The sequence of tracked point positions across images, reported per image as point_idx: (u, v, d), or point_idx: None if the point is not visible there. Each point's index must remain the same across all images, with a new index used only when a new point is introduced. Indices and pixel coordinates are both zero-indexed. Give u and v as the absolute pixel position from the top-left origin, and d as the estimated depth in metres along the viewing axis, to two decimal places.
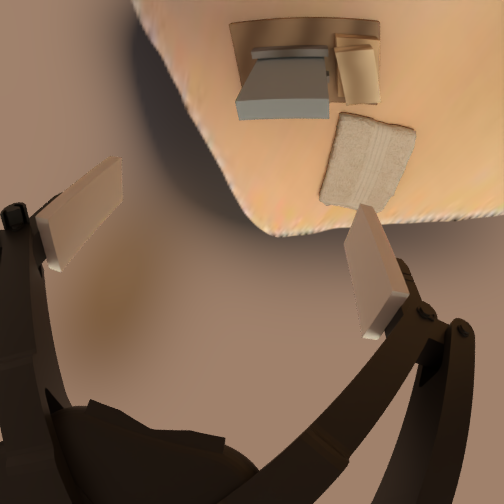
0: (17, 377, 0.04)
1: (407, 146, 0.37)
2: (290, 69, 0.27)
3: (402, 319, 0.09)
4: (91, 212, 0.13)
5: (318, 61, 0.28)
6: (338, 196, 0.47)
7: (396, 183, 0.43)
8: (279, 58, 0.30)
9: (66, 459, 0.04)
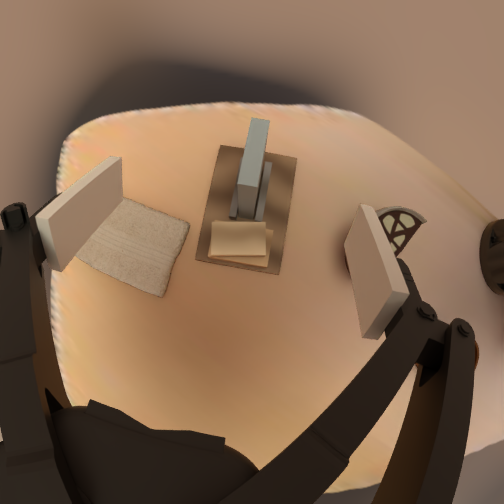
0: (17, 377, 0.04)
1: (148, 285, 0.40)
2: (259, 180, 0.38)
3: (402, 319, 0.09)
4: (91, 212, 0.13)
5: None
6: None
7: (105, 271, 0.40)
8: (259, 181, 0.43)
9: (66, 459, 0.04)
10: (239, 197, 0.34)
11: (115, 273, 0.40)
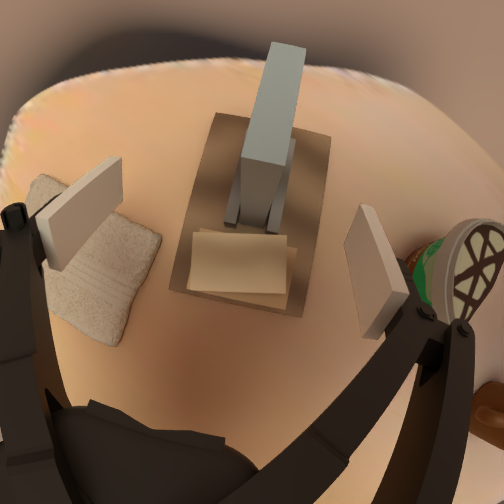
0: (17, 377, 0.04)
1: (94, 328, 0.24)
2: None
3: (402, 319, 0.09)
4: (91, 212, 0.13)
5: None
6: (38, 201, 0.25)
7: None
8: None
9: (66, 459, 0.04)
10: (243, 189, 0.17)
11: (51, 304, 0.24)
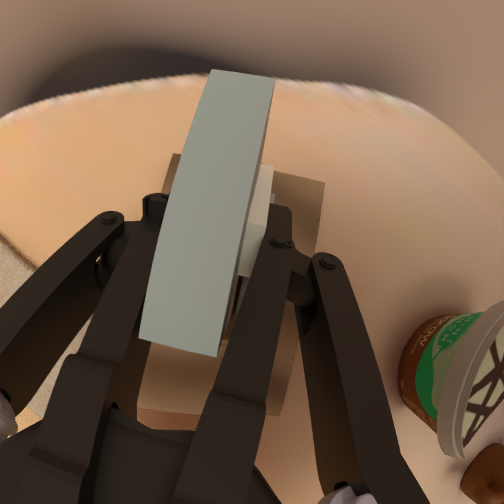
0: (86, 382, 0.05)
1: None
2: None
3: (258, 256, 0.10)
4: None
5: None
6: None
7: None
8: None
9: (96, 476, 0.04)
10: None
11: None
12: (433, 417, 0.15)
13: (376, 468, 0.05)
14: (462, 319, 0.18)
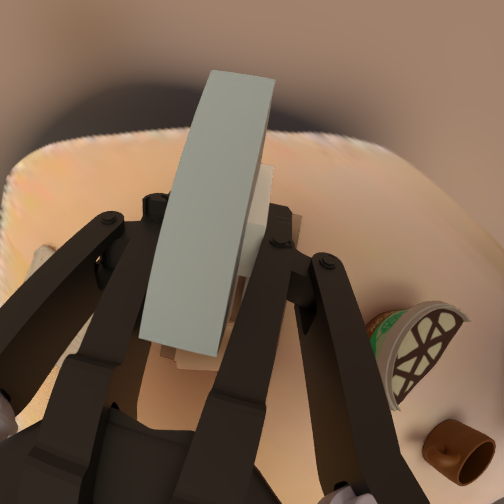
0: (86, 382, 0.05)
1: None
2: None
3: (258, 256, 0.10)
4: None
5: None
6: None
7: None
8: None
9: (96, 476, 0.04)
10: None
11: (60, 363, 0.28)
12: None
13: (376, 468, 0.05)
14: (400, 313, 0.28)
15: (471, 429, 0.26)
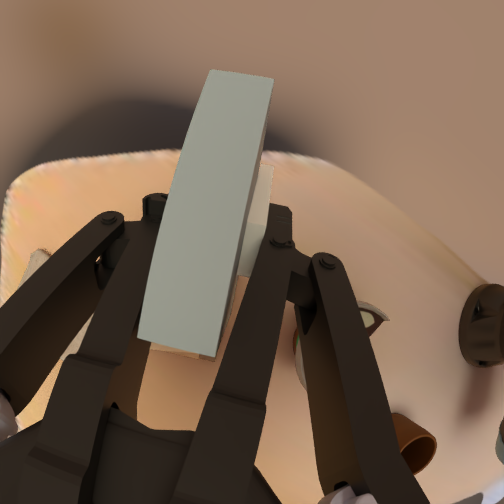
0: (86, 382, 0.05)
1: None
2: None
3: (258, 256, 0.10)
4: None
5: (231, 306, 0.18)
6: None
7: None
8: None
9: (96, 476, 0.04)
10: None
11: None
12: None
13: (376, 468, 0.05)
14: None
15: (412, 423, 0.33)
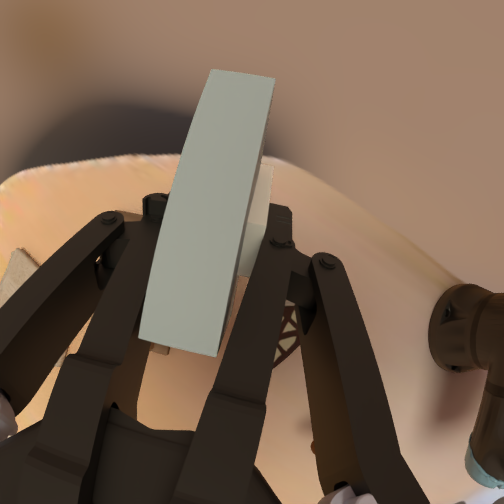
0: (86, 382, 0.05)
1: None
2: None
3: (258, 256, 0.10)
4: None
5: None
6: (16, 269, 0.37)
7: None
8: None
9: (96, 476, 0.04)
10: None
11: None
12: None
13: (376, 468, 0.05)
14: None
15: None
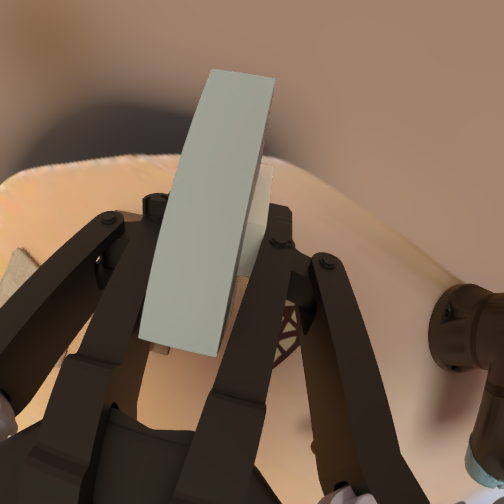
0: (86, 382, 0.05)
1: None
2: None
3: (258, 256, 0.10)
4: None
5: None
6: (16, 269, 0.37)
7: None
8: None
9: (96, 476, 0.04)
10: None
11: None
12: None
13: (376, 468, 0.05)
14: None
15: None
